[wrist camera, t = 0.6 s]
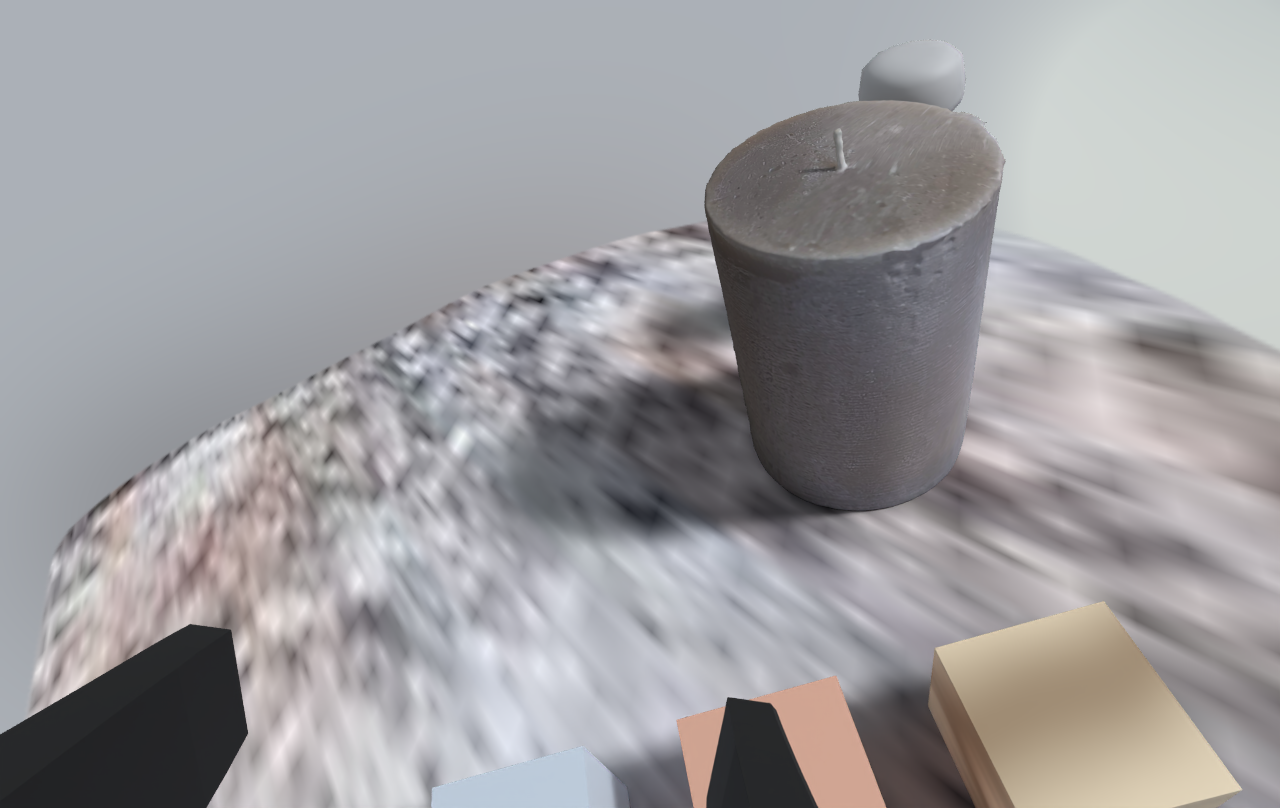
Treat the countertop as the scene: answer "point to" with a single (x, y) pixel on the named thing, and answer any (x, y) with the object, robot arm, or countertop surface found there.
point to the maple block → (1069, 720)
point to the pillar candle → (857, 292)
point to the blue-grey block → (539, 785)
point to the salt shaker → (916, 74)
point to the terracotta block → (796, 746)
